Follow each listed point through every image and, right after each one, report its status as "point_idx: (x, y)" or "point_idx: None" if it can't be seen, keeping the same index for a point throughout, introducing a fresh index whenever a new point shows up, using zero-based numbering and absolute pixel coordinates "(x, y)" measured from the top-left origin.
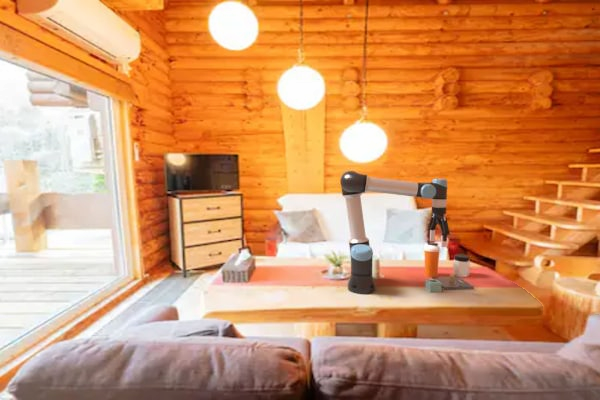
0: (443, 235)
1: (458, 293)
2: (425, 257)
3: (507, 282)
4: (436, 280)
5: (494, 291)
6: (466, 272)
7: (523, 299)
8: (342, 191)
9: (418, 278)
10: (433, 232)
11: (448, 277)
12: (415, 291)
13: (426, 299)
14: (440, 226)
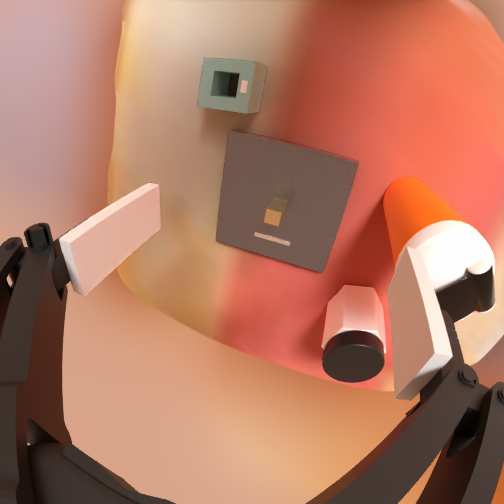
0: (59, 250)
1: (192, 158)
2: (443, 205)
3: (251, 352)
4: (228, 101)
5: (194, 275)
6: (326, 314)
7: (146, 288)
8: None
9: (391, 114)
10: (407, 356)
11: (328, 228)
12: (241, 13)
13: (167, 25)
14: (11, 341)
